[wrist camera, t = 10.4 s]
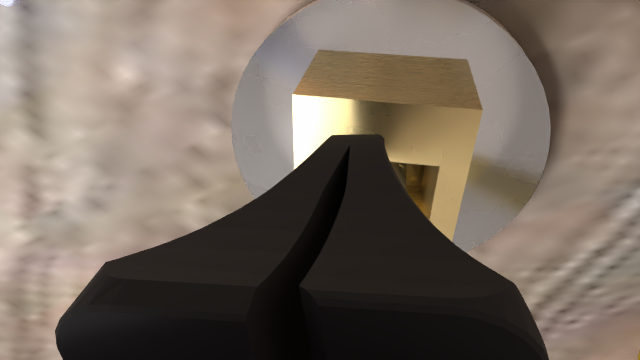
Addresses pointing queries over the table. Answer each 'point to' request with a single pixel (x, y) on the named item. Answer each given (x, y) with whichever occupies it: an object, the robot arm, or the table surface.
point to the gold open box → (396, 118)
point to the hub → (414, 40)
